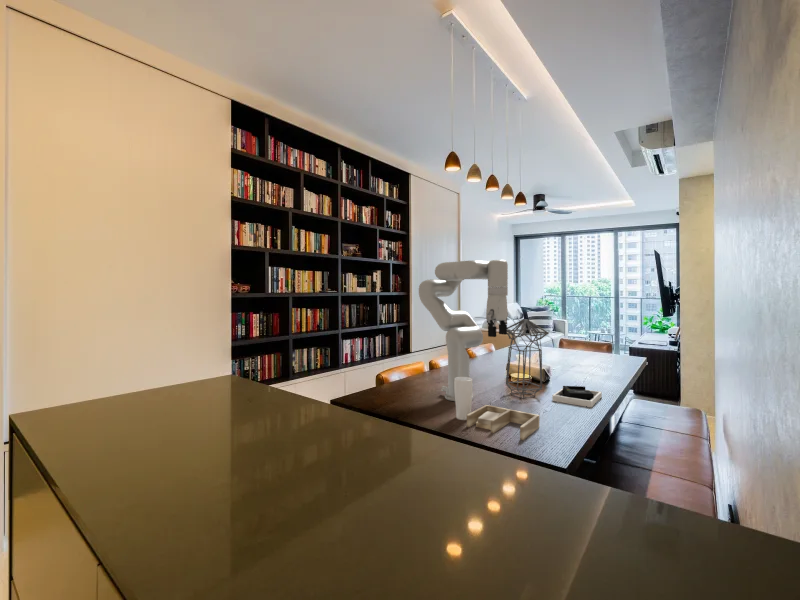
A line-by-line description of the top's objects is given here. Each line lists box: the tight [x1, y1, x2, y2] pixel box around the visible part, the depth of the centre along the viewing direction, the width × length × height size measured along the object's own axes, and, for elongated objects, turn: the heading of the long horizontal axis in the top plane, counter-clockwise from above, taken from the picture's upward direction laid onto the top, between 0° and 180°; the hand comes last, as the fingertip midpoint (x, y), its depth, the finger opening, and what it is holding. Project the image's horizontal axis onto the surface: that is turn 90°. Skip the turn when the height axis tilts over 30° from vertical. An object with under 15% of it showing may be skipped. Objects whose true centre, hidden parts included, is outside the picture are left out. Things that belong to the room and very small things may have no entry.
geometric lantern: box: [505, 318, 550, 400], centre depth 176 cm, size 16×16×35 cm
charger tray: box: [551, 387, 603, 408], centre depth 171 cm, size 16×19×2 cm
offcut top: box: [478, 411, 500, 425], centre depth 137 cm, size 5×9×2 cm, turn 147°
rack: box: [466, 404, 540, 441], centre depth 135 cm, size 20×15×5 cm
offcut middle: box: [475, 422, 491, 431], centre depth 138 cm, size 6×10×2 cm, turn 147°
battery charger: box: [562, 385, 594, 401], centre depth 171 cm, size 13×10×4 cm
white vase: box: [454, 377, 474, 421], centre depth 145 cm, size 7×7×15 cm
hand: (497, 335), depth 153 cm, fingers open, 9 cm apart
